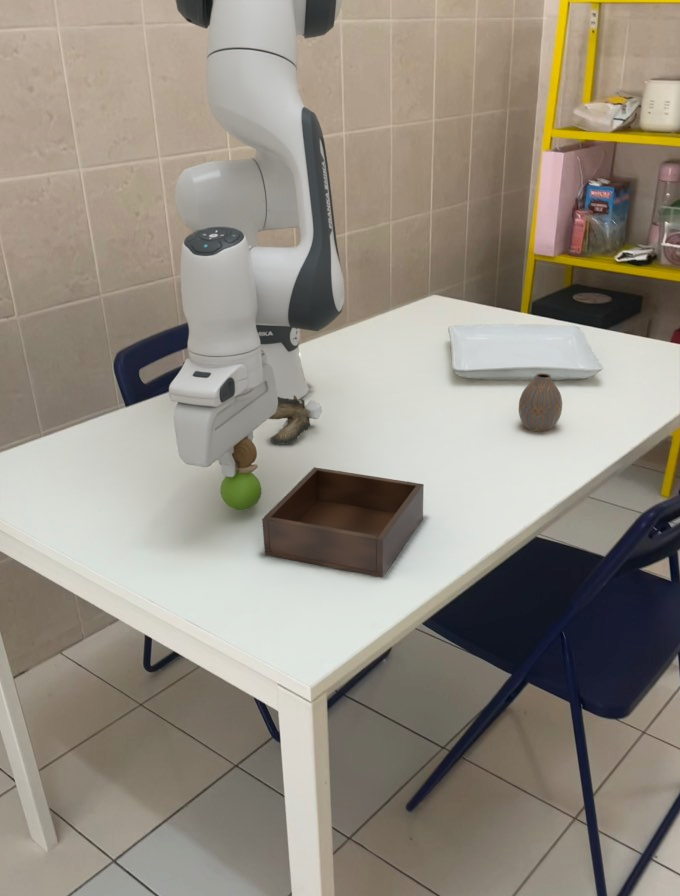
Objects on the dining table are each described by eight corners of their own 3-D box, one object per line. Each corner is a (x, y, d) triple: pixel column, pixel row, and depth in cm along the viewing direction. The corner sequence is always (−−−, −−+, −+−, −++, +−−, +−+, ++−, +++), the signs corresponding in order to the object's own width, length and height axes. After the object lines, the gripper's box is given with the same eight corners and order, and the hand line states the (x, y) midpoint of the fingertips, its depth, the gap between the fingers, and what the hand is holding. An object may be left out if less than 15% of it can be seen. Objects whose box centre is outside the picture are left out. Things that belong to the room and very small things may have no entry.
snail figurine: (221, 498, 121) (214, 415, 115) (267, 501, 120) (262, 417, 114) (209, 515, 116) (201, 430, 110) (256, 518, 115) (251, 432, 109)
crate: (264, 554, 109) (261, 518, 106) (315, 500, 121) (314, 467, 119) (382, 577, 104) (382, 540, 101) (423, 518, 116) (423, 483, 114)
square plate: (446, 341, 184) (447, 323, 182) (578, 342, 183) (580, 323, 181) (451, 386, 160) (452, 365, 158) (602, 386, 159) (605, 366, 157)
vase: (559, 436, 140) (565, 384, 135) (515, 433, 141) (519, 381, 136) (560, 420, 145) (565, 369, 141) (518, 417, 147) (522, 367, 142)
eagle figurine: (282, 412, 147) (248, 420, 139) (303, 381, 143) (269, 387, 135) (312, 444, 145) (278, 454, 138) (334, 414, 141) (300, 422, 134)
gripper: (243, 341, 118) (251, 437, 125) (160, 392, 101) (174, 499, 108) (285, 346, 116) (291, 442, 123) (208, 399, 99) (220, 507, 106)
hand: (236, 469), depth 115 cm, fingers closed on snail figurine
